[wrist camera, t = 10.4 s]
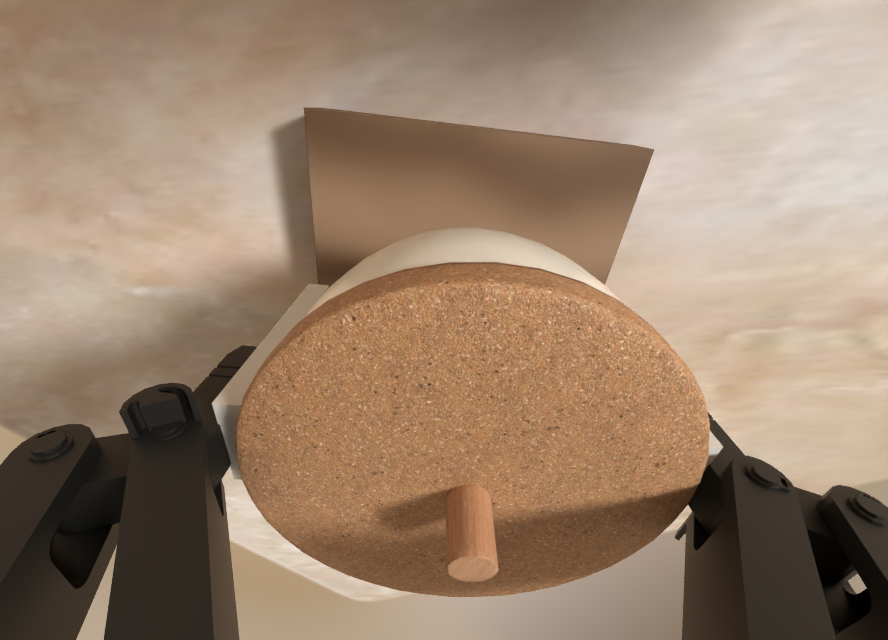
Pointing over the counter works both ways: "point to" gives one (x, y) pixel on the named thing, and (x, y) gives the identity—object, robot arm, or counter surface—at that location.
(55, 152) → the counter surface
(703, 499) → the robot arm
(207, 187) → the counter surface
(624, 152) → the walnut board
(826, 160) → the counter surface
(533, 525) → the lidded jar
